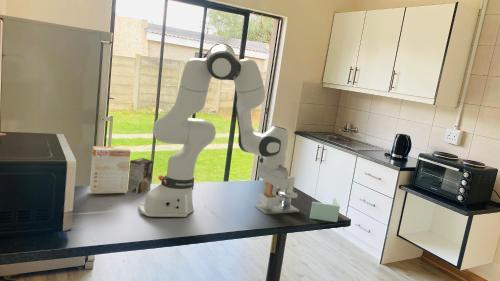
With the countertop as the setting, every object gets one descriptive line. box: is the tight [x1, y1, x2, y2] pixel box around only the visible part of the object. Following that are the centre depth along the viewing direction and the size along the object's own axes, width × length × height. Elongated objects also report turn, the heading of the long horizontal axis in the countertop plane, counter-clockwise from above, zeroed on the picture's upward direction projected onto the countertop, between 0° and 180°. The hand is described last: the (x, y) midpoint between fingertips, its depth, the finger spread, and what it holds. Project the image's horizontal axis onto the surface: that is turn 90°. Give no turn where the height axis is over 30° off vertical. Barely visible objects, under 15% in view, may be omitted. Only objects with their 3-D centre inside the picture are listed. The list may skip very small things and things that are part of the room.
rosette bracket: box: [254, 175, 300, 215], centre depth 169 cm, size 18×10×15 cm, turn 120°
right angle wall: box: [309, 198, 341, 223], centre depth 169 cm, size 12×12×8 cm
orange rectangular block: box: [264, 182, 277, 197], centre depth 166 cm, size 4×4×10 cm
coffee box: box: [127, 157, 154, 194], centre depth 172 cm, size 9×6×16 cm
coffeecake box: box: [89, 145, 131, 195], centre depth 161 cm, size 15×7×20 cm, turn 118°
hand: (270, 192), depth 166 cm, fingers closed on orange rectangular block, 3 cm apart
